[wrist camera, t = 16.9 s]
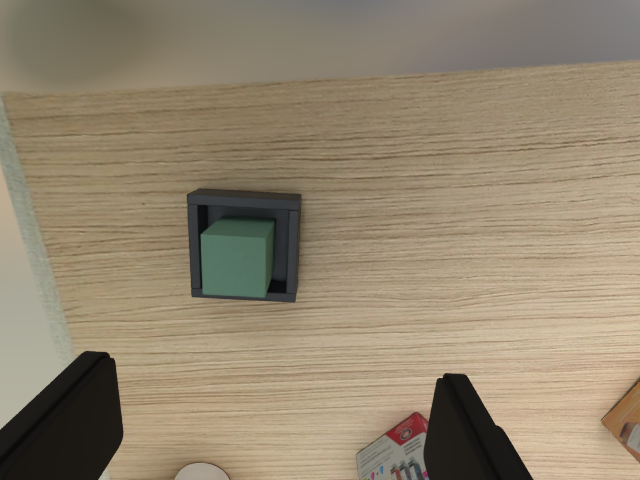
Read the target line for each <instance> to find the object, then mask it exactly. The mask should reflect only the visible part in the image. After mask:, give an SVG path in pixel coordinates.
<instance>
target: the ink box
mask: <svg viewBox="0 0 640 480" xmlns="http://www.w3.org/2000/svg"><path fill="white" fill-rule="evenodd" d="M428 423H429V422H428V421H427V420H426V419H425V418H423V417H422V416H421V415H420V414H419V413H415V414H413V415H412V416H410V417H409V418H408V419H406V420H405V421H403V422H402V423H401V424H399V425H398V426H396V427H395V428H394V429H392V430H391V431H389V432H388V433H386V434H385V435H383V436H382V437H381V438H379V439H378V440H376V441H375V442H374V443H372V444H371V445H369V446H368V447H367V448H365V449H364V450H362V451H361V452H359V453H358V454H357V455H356V457H357V466H358V475H359V480H429V478H428V474H427V471H426V468H425V464H424V459H423V450H424V444H425V439H426V434H427V428H428Z"/></svg>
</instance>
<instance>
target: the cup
mask: <svg viewBox="0 0 640 480" xmlns="http://www.w3.org/2000/svg"><path fill="white" fill-rule="evenodd" d="M174 480H229V478H228V476H227V475H226V474H225V472H224V471H223V470H221V469H220V468H218V467H216V466H214V465H212V464H207V463H194V464H189V465H187V466H185V467H183V468H182V469H181V470H180V471H179V472H178V474H177V475H176V477H175V479H174Z"/></svg>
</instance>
